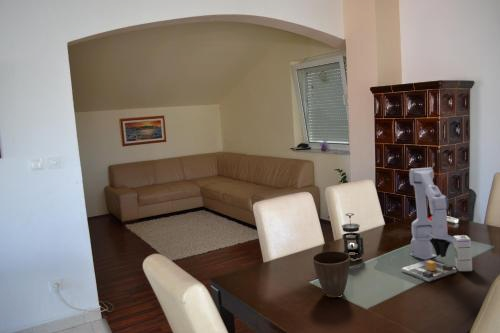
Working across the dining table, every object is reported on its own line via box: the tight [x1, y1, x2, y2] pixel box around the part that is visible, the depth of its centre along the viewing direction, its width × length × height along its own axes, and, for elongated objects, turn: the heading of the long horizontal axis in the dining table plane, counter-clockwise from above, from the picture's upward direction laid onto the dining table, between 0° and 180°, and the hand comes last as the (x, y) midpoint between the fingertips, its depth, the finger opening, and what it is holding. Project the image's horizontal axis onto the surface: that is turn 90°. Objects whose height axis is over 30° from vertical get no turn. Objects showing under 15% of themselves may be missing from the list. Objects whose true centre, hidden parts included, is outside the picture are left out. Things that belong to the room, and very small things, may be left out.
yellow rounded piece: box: [425, 259, 437, 271], centre depth 180 cm, size 3×3×4 cm
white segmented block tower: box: [453, 234, 473, 272], centre depth 181 cm, size 6×6×14 cm
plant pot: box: [312, 250, 351, 296], centre depth 168 cm, size 15×15×16 cm
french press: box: [341, 212, 365, 259], centre depth 207 cm, size 12×9×23 cm
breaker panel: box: [400, 259, 458, 283], centre depth 182 cm, size 15×17×3 cm
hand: (441, 255), depth 174 cm, fingers closed
